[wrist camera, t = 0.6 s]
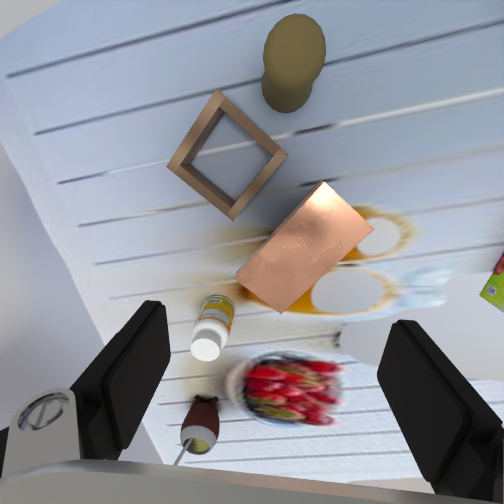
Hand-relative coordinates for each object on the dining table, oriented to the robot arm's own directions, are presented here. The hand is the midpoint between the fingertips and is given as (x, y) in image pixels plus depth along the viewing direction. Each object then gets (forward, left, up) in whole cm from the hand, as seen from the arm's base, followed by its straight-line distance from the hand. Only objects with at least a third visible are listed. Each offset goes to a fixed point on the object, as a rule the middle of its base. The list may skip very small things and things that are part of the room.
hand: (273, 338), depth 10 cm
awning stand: (-1, +2, -27) cm, 27 cm away
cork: (-12, -8, -27) cm, 31 cm away
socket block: (-1, -8, -27) cm, 28 cm away
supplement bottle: (+19, +5, -27) cm, 33 cm away
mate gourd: (+40, +17, -27) cm, 51 cm away
